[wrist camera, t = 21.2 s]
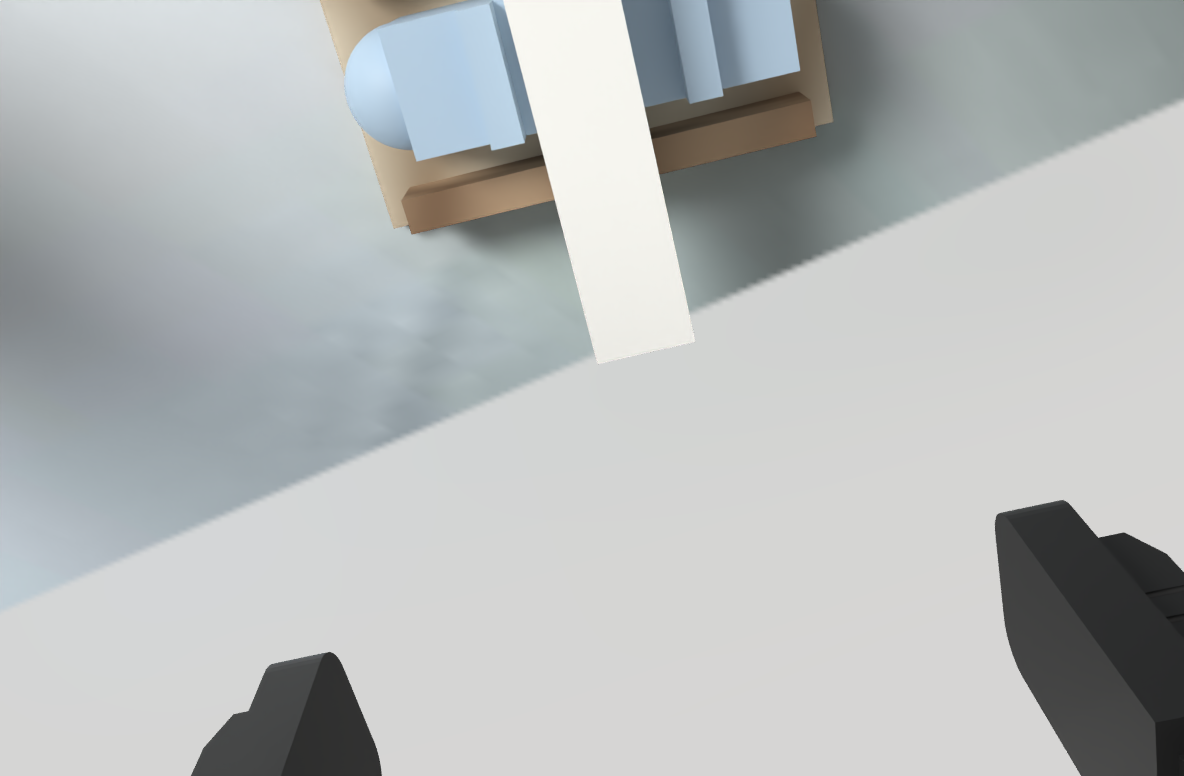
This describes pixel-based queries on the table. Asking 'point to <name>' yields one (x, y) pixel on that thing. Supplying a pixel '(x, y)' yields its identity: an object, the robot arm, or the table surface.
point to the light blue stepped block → (495, 82)
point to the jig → (520, 171)
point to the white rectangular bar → (602, 172)
